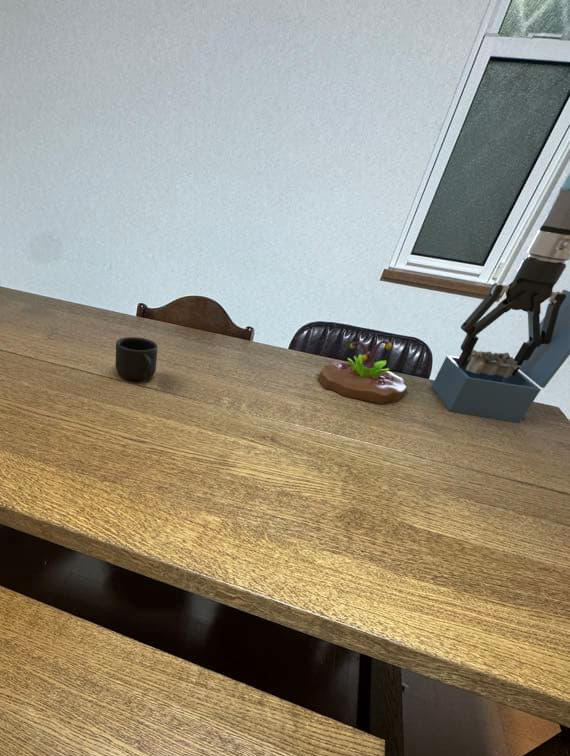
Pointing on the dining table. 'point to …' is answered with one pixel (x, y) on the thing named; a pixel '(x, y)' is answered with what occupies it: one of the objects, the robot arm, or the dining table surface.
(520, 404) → the chest
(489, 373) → the egg carton
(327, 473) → the dining table surface
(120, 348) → the mug
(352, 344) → the plant
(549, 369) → the lid
